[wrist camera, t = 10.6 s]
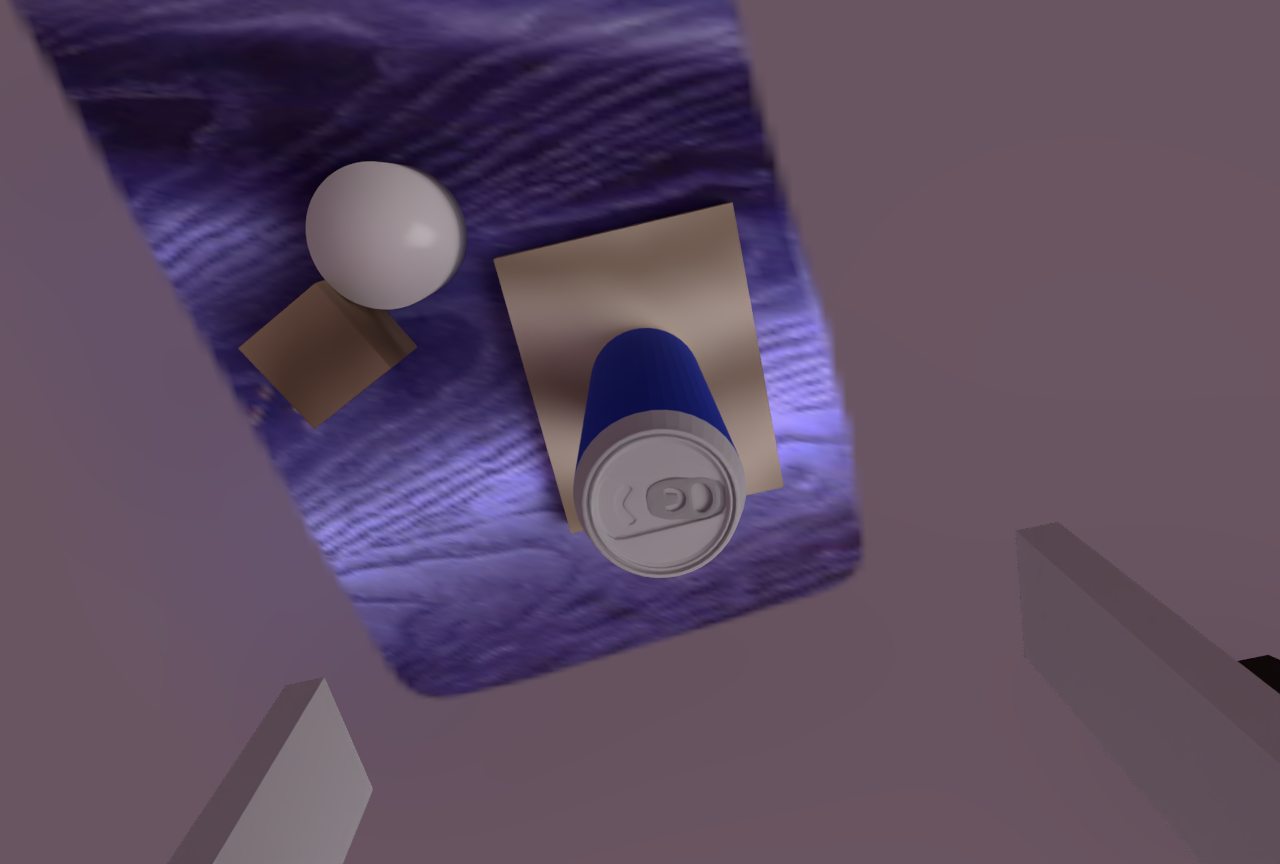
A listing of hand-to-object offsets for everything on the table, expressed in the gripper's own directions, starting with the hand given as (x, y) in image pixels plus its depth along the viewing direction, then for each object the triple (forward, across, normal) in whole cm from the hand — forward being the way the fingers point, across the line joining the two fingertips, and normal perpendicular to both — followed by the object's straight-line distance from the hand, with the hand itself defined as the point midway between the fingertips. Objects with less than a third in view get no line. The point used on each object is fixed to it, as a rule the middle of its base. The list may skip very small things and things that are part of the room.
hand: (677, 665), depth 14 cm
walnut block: (+24, -13, +4) cm, 28 cm away
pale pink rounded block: (+24, -9, +9) cm, 27 cm away
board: (+24, 0, 0) cm, 24 cm away
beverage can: (+23, 0, 0) cm, 23 cm away
